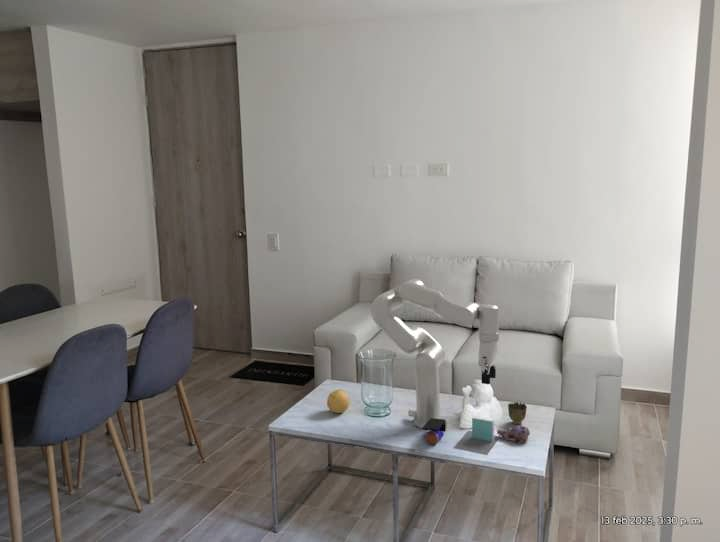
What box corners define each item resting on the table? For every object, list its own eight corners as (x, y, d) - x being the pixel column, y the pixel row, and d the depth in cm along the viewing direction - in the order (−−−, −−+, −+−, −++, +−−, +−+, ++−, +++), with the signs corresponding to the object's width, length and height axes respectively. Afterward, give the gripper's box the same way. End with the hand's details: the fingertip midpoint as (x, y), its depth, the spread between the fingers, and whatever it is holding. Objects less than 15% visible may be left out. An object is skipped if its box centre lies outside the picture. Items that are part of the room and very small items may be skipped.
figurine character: (431, 433, 239) (421, 445, 224) (431, 414, 238) (421, 425, 224) (447, 435, 236) (438, 447, 222) (448, 416, 236) (439, 427, 222)
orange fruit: (351, 408, 263) (350, 386, 262) (348, 416, 254) (347, 394, 252) (329, 407, 265) (328, 386, 263) (325, 416, 255) (324, 394, 253)
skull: (494, 438, 227) (496, 422, 226) (500, 433, 234) (502, 418, 233) (525, 446, 221) (528, 431, 221) (530, 441, 228) (532, 426, 227)
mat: (453, 448, 221) (453, 447, 221) (468, 431, 236) (468, 430, 236) (487, 456, 215) (487, 454, 215) (500, 437, 229) (500, 436, 229)
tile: (472, 437, 229) (472, 418, 228) (473, 435, 231) (473, 416, 230) (492, 441, 225) (492, 421, 224) (493, 439, 227) (493, 419, 226)
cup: (507, 419, 246) (507, 401, 245) (525, 420, 244) (526, 402, 243) (508, 427, 239) (508, 408, 237) (527, 428, 237) (527, 409, 236)
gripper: (486, 330, 237) (486, 372, 240) (472, 341, 222) (472, 386, 225) (504, 332, 234) (504, 375, 236) (491, 343, 219) (491, 389, 222)
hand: (488, 380), depth 231 cm, fingers open, 6 cm apart
